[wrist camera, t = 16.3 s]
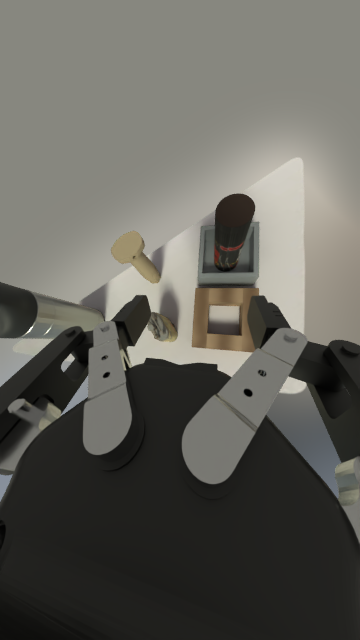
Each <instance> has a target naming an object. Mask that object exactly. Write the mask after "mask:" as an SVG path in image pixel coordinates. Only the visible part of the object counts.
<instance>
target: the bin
mask: <svg viewBox="0 0 360 640" xmlns="http://www.w3.org/2000/svg"><path fill="white" fill-rule="evenodd" d="M214 244H215V225H214V226H202V227H201V233H200V249H199V264H198V282H199V285H253V284H254V282H255V281H256V280H257V278H258V277H259V222H251V224H250V227H249V230H248V233H247V236H246V239H245V242H244V245H243V248H242V251H241V254H240V258H239V261H238V263H237V266H236V267H235V268H234V269H233V270H231V271H227V272H223V271H220V270H218V269H217V268H216V267H215V265H214Z"/></svg>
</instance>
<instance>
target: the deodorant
mask: <svg viewBox="0 0 360 640" xmlns="http://www.w3.org/2000/svg"><path fill="white" fill-rule="evenodd" d="M254 212H255V204H254V202H253V200H252V199H251V198H250V197H249V196H247V195H244V194H232V195H229V196H227V197H225V198H224V199H222V200H221V201H220V203H219V204H218V205H217V208H216V212H215V244H214V265H215V267H216V268H217V269H218V270H220V271H223V272H227V271H231V270H233V269H234V268H235V267H236V266H237V263H238V261H239V258H240V254H241V251H242V248H243V245H244V242H245V239H246V236H247V233H248V230H249V227H250V224H251V221H252V218H253V215H254Z"/></svg>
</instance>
